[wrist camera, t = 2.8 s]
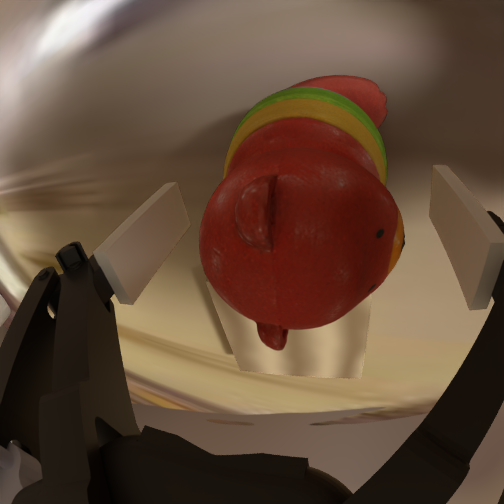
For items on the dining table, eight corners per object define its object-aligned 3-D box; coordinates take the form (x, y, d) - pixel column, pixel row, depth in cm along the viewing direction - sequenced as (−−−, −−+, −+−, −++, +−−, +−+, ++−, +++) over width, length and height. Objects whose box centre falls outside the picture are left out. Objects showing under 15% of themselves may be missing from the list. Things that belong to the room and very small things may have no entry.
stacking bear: (372, 205, 24) (391, 401, 11) (258, 192, 27) (167, 362, 13) (388, 81, 18) (515, 143, 4) (256, 70, 20) (92, 110, 6)
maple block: (370, 256, 28) (372, 284, 25) (361, 353, 37) (360, 378, 34) (218, 258, 33) (205, 281, 30) (248, 347, 42) (240, 370, 39)
